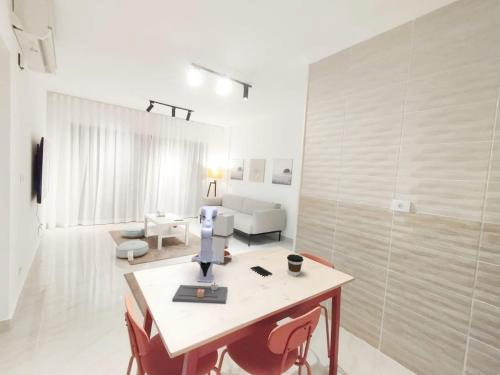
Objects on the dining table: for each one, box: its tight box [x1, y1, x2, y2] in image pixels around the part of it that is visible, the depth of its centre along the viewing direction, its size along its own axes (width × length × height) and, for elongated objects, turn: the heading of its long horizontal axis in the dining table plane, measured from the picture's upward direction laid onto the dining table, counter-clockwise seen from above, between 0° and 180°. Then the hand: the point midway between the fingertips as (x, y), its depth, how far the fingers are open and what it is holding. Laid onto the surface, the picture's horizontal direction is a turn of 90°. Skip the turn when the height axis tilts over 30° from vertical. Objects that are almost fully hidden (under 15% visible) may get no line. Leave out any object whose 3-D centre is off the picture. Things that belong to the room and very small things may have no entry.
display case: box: [212, 212, 235, 267], centre depth 165 cm, size 11×11×35 cm
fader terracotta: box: [197, 289, 204, 298], centre depth 115 cm, size 3×3×3 cm
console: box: [172, 284, 229, 305], centre depth 119 cm, size 14×26×2 cm, turn 92°
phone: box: [250, 265, 273, 278], centre depth 153 cm, size 8×1×15 cm
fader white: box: [210, 281, 219, 290], centre depth 123 cm, size 3×3×3 cm
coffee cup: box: [286, 253, 304, 277], centre depth 152 cm, size 11×11×12 cm
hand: (205, 275), depth 119 cm, fingers closed
